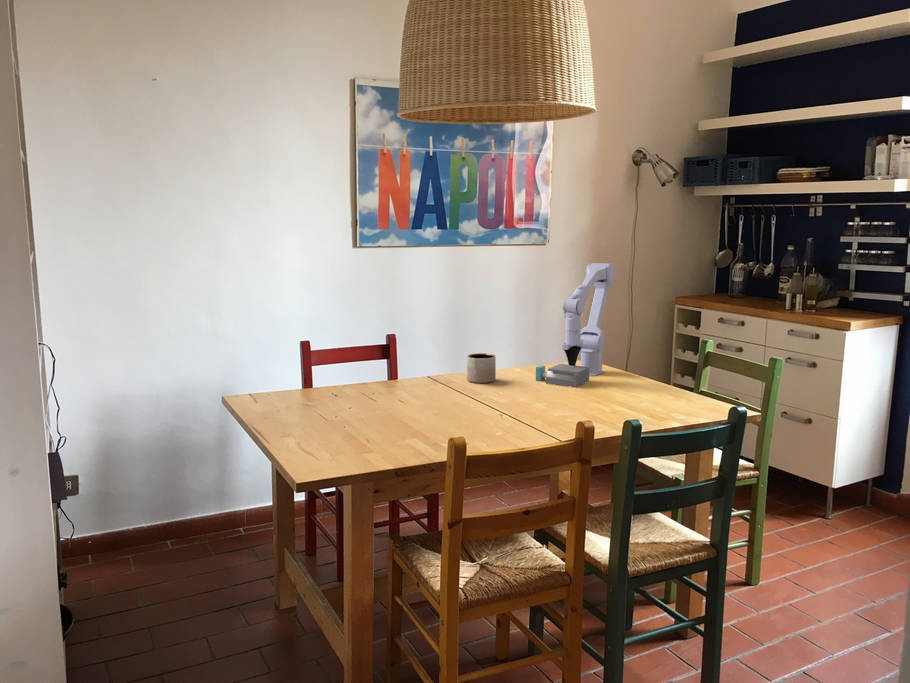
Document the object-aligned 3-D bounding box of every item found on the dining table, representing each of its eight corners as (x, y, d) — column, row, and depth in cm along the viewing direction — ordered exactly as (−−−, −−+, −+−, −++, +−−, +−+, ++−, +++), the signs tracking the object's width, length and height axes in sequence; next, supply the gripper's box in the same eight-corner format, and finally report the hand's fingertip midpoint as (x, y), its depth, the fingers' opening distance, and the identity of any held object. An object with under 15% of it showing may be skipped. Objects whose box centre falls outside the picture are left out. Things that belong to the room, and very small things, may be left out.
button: (570, 371, 302) (570, 364, 302) (576, 371, 301) (576, 365, 301) (567, 372, 300) (567, 365, 300) (573, 372, 299) (573, 366, 299)
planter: (498, 383, 297) (499, 358, 295) (470, 384, 295) (470, 359, 293) (491, 377, 307) (491, 352, 306) (464, 378, 305) (464, 353, 303)
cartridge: (540, 378, 304) (540, 365, 304) (577, 382, 296) (578, 369, 295) (535, 380, 301) (535, 367, 300) (573, 385, 293) (573, 371, 292)
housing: (559, 377, 307) (560, 363, 306) (588, 381, 300) (589, 367, 299) (545, 383, 296) (546, 369, 295) (575, 387, 290) (576, 373, 289)
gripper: (571, 326, 306) (570, 361, 309) (555, 332, 294) (554, 367, 296) (588, 328, 303) (586, 363, 305) (572, 333, 290) (571, 369, 293)
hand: (572, 365), depth 300 cm, fingers closed, pressing on button
